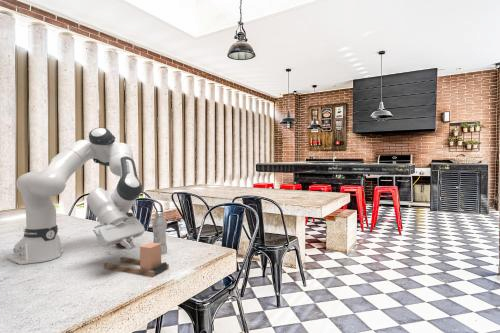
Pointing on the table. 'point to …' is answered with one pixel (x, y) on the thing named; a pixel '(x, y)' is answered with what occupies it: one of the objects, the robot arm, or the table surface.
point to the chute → (137, 271)
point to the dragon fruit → (121, 245)
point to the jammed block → (150, 256)
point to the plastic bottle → (160, 230)
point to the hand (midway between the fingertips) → (132, 248)
